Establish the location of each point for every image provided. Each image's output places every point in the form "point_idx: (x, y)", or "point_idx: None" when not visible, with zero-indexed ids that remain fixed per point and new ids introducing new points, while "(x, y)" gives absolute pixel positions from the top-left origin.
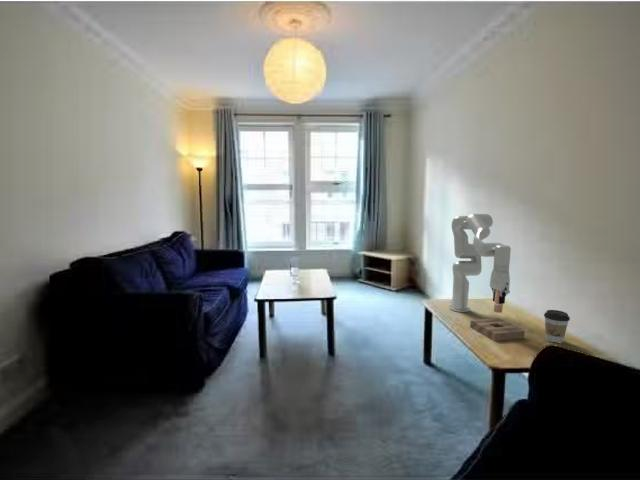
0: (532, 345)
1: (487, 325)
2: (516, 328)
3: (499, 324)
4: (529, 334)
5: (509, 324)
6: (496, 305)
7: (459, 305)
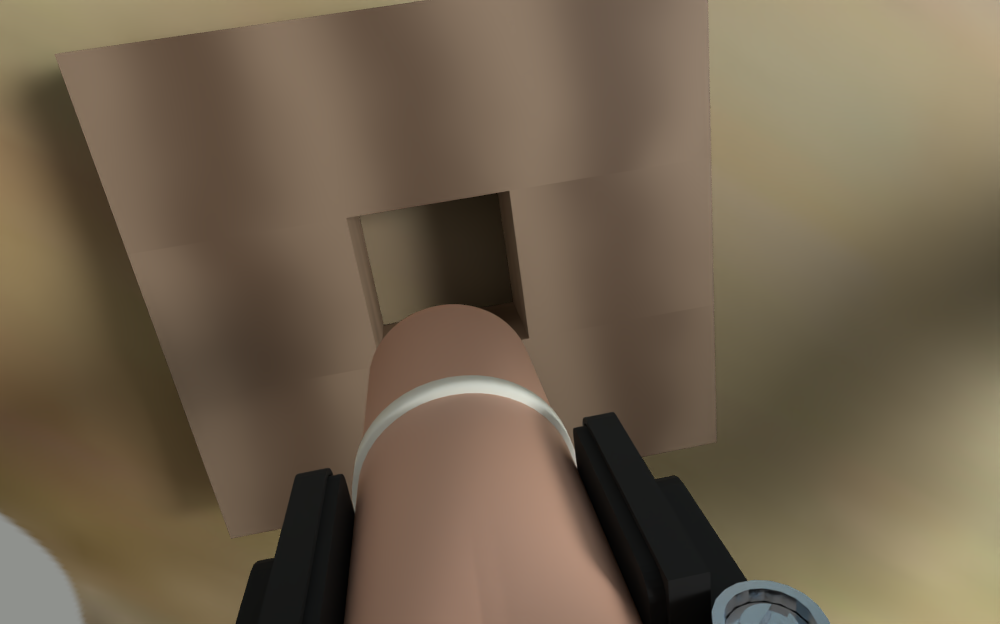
0: (26, 464)
1: (437, 131)
2: None
3: None
4: None
5: None
6: (407, 390)
7: None
